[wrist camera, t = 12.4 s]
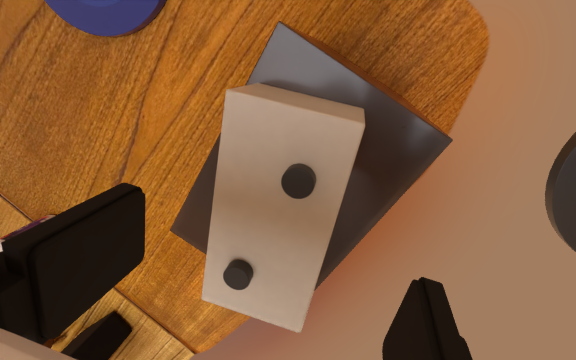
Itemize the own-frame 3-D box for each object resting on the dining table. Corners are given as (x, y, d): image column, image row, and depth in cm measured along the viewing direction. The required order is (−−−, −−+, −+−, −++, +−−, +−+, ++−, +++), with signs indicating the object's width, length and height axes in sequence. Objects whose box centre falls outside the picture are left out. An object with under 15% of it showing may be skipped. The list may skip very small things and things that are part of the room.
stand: (320, 41, 26) (278, 20, 13) (405, 99, 27) (453, 140, 13) (251, 157, 32) (169, 230, 18) (322, 205, 32) (294, 313, 18)
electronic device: (82, 331, 49) (18, 392, 40) (115, 309, 45) (54, 371, 36) (100, 349, 50) (42, 413, 41) (135, 328, 46) (79, 394, 37)
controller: (256, 82, 14) (217, 90, 10) (364, 108, 13) (366, 127, 10) (229, 256, 18) (194, 309, 14) (311, 282, 17) (297, 345, 13)
